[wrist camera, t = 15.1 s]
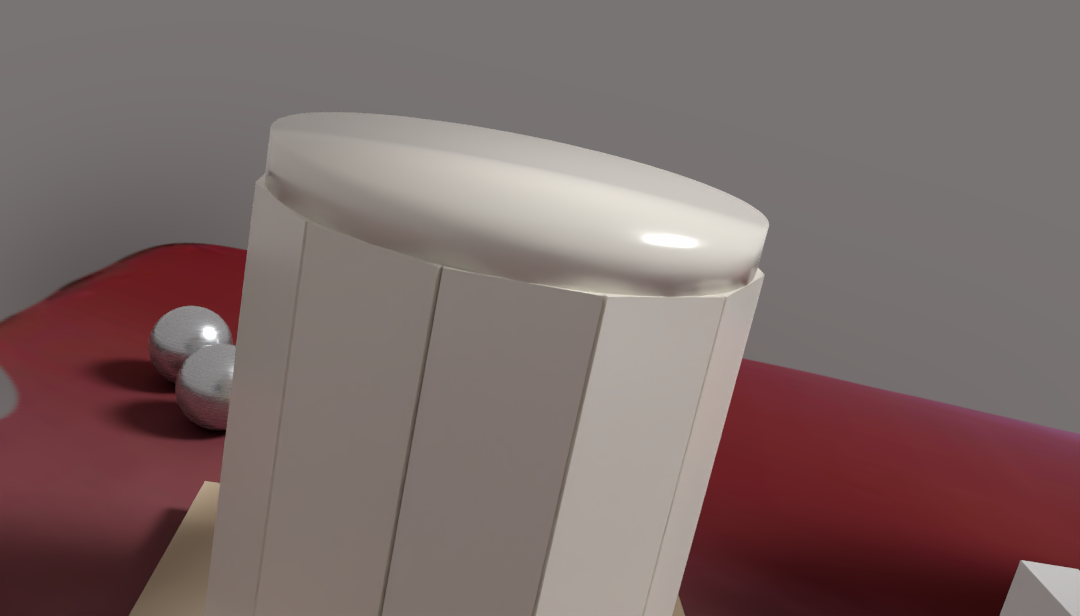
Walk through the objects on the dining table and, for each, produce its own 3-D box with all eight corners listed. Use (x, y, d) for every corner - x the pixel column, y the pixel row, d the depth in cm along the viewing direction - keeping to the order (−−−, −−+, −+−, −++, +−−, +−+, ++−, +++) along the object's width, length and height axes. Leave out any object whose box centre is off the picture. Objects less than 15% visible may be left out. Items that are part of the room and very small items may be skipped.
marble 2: (268, 415, 37) (278, 339, 37) (250, 451, 35) (260, 369, 34) (185, 402, 37) (193, 325, 36) (159, 437, 34) (168, 354, 33)
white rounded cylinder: (609, 577, 29) (709, 170, 26) (668, 861, 20) (840, 276, 16) (258, 526, 28) (315, 94, 25) (143, 800, 19) (210, 162, 15)
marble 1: (236, 374, 40) (245, 303, 39) (217, 404, 37) (226, 328, 37) (159, 362, 40) (165, 290, 39) (134, 391, 37) (141, 313, 36)
